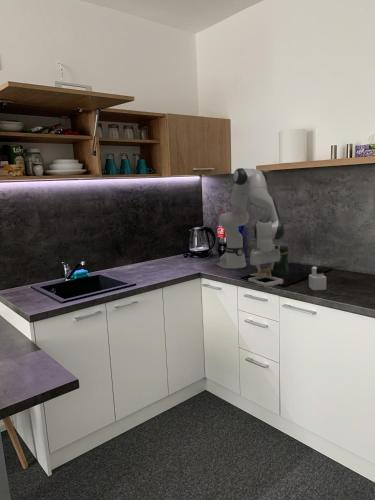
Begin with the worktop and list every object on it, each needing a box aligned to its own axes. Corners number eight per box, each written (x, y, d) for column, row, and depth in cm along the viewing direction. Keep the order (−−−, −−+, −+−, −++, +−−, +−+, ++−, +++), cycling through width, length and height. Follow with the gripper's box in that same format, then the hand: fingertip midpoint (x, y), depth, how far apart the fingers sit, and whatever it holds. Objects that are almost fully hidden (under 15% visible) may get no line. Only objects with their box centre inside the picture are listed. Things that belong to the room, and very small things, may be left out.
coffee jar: (290, 274, 242) (290, 245, 239) (284, 277, 237) (284, 247, 233) (276, 272, 249) (276, 244, 246) (270, 275, 243) (270, 246, 240)
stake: (249, 276, 243) (248, 267, 242) (261, 273, 248) (261, 264, 247) (259, 279, 235) (259, 270, 234) (272, 276, 239) (272, 267, 238)
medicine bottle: (321, 286, 213) (321, 265, 211) (326, 289, 206) (326, 267, 204) (308, 287, 213) (308, 265, 211) (313, 290, 206) (313, 268, 204)
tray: (248, 282, 228) (248, 278, 228) (266, 278, 235) (266, 274, 235) (264, 287, 216) (264, 283, 215) (283, 283, 222) (283, 279, 222)
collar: (264, 278, 220) (264, 270, 219) (257, 276, 228) (256, 267, 227) (274, 276, 222) (274, 268, 221) (267, 273, 230) (266, 265, 229)
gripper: (254, 250, 214) (254, 274, 217) (281, 245, 224) (282, 268, 227) (247, 248, 220) (247, 272, 222) (274, 244, 230) (274, 267, 232)
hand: (265, 270), depth 224 cm, fingers closed on collar, 7 cm apart
